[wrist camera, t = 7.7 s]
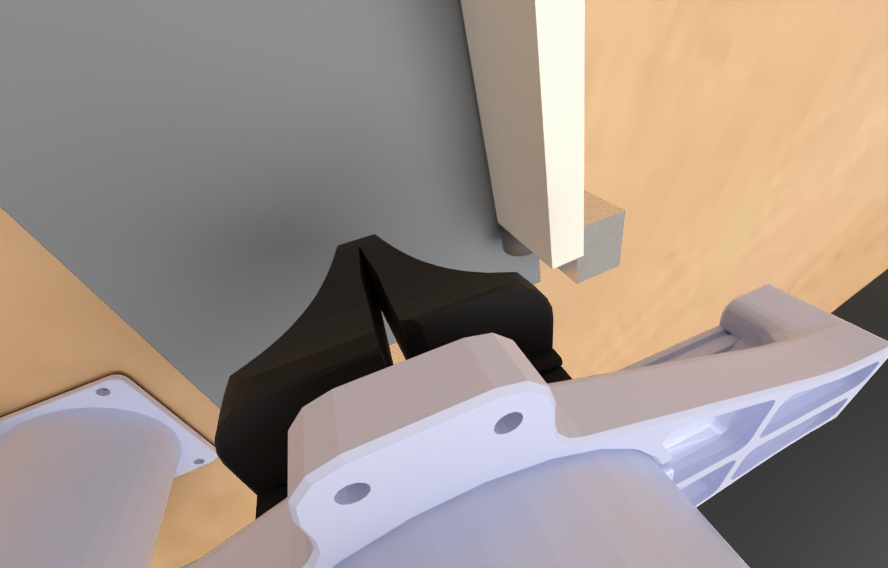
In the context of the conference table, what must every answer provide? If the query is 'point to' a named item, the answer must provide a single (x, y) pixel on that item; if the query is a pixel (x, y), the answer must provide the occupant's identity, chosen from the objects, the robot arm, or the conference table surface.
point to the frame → (598, 240)
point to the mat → (240, 156)
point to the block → (532, 120)
